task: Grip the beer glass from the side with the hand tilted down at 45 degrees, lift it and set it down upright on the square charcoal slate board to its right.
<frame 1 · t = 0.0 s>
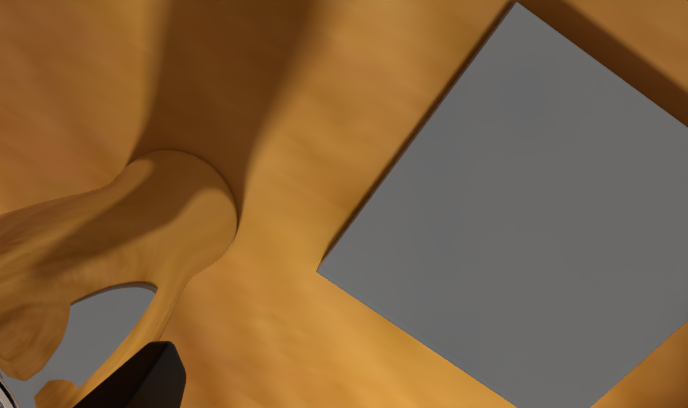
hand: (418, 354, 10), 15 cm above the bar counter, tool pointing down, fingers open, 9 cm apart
slate board: (536, 236, 25), on the bar counter
beer glass: (179, 209, 27), on the bar counter
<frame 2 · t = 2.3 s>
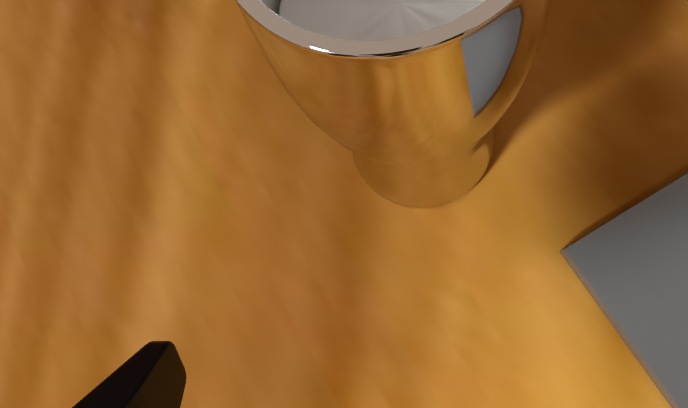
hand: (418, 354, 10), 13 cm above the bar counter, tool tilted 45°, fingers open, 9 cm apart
beer glass: (422, 141, 25), on the bar counter
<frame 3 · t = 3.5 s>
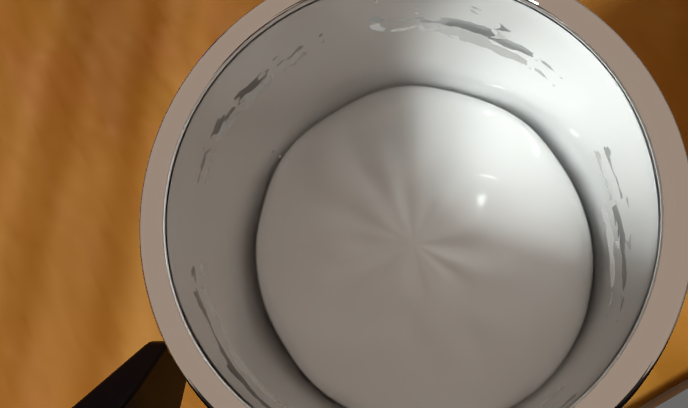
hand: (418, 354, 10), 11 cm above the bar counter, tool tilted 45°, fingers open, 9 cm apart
beer glass: (432, 285, 21), on the bar counter
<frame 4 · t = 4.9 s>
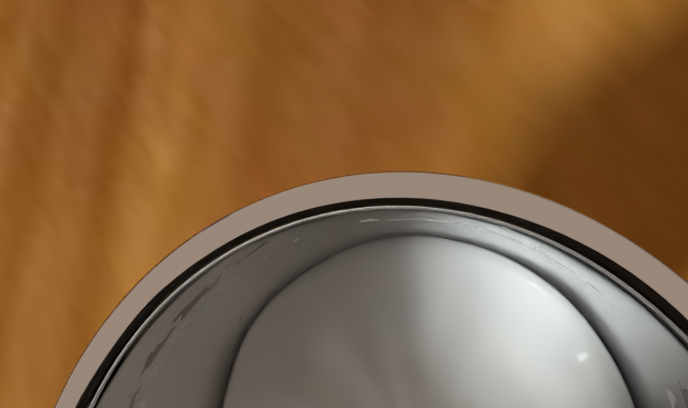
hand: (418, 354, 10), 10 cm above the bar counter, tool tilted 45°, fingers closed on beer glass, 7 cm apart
beer glass: (436, 379, 19), on the bar counter, touching gripper
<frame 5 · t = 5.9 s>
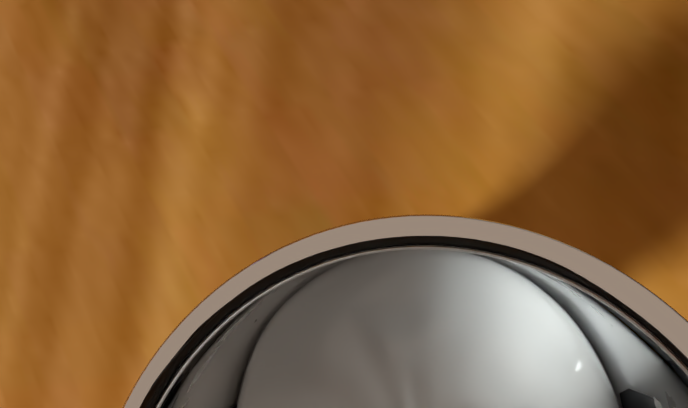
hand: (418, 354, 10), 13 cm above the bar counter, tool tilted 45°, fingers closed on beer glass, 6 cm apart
beer glass: (420, 364, 20), point 3 cm above the bar counter, touching gripper
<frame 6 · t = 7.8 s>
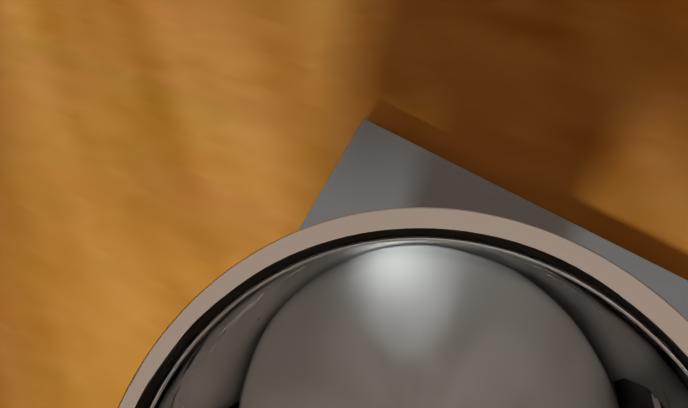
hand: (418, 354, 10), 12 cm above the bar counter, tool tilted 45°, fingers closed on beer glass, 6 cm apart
slate board: (436, 372, 21), on the bar counter
beer glass: (425, 369, 20), point 1 cm above the bar counter, touching gripper, slate board
when the fingers open (12 cm above the bar counter, at t = 8.0 s): beer glass stays where it is, resting on slate board.
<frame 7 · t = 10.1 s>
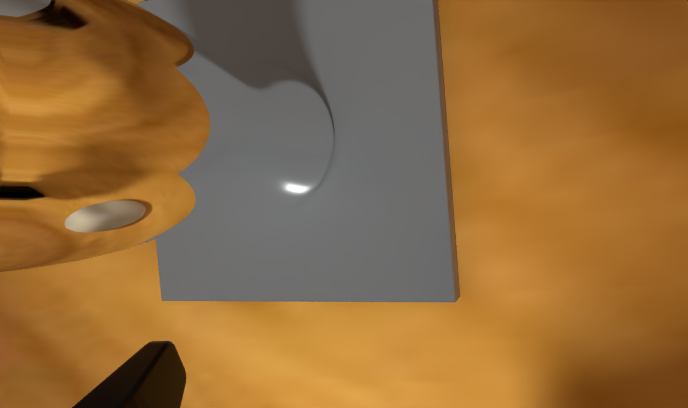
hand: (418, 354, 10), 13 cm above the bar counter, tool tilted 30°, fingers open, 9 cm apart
slate board: (289, 139, 25), on the bar counter
beer glass: (272, 140, 24), point 1 cm above the bar counter, touching slate board
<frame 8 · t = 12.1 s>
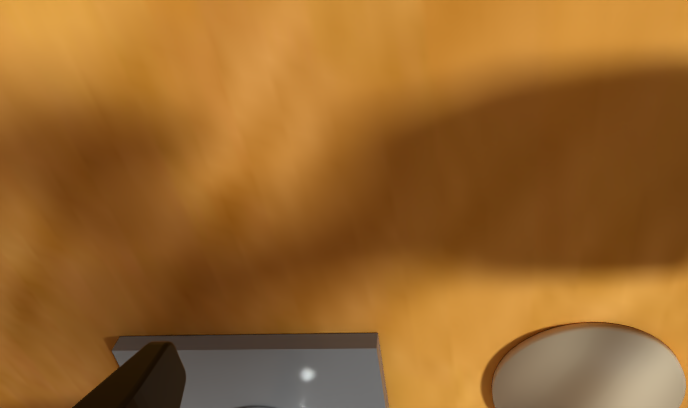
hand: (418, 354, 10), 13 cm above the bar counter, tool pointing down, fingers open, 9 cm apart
metal coaster: (583, 386, 28), on the bar counter
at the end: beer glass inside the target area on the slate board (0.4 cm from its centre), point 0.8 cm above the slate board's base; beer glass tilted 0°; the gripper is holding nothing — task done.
